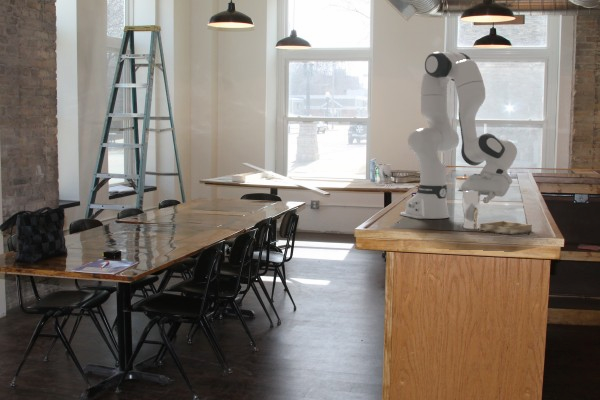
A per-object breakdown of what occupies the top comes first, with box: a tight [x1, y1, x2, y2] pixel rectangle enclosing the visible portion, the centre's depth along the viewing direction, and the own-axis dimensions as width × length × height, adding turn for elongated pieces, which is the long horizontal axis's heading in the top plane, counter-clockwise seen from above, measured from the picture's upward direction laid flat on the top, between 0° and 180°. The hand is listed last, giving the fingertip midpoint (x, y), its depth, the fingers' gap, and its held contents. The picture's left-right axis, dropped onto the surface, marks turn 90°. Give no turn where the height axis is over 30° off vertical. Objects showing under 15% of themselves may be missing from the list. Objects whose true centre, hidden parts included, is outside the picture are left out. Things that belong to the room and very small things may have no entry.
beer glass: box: [461, 190, 482, 230], centre depth 294 cm, size 7×7×15 cm
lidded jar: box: [455, 173, 470, 191], centre depth 442 cm, size 11×11×9 cm
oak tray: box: [479, 220, 533, 235], centre depth 287 cm, size 14×14×3 cm
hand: (475, 201), depth 294 cm, fingers open, 8 cm apart
